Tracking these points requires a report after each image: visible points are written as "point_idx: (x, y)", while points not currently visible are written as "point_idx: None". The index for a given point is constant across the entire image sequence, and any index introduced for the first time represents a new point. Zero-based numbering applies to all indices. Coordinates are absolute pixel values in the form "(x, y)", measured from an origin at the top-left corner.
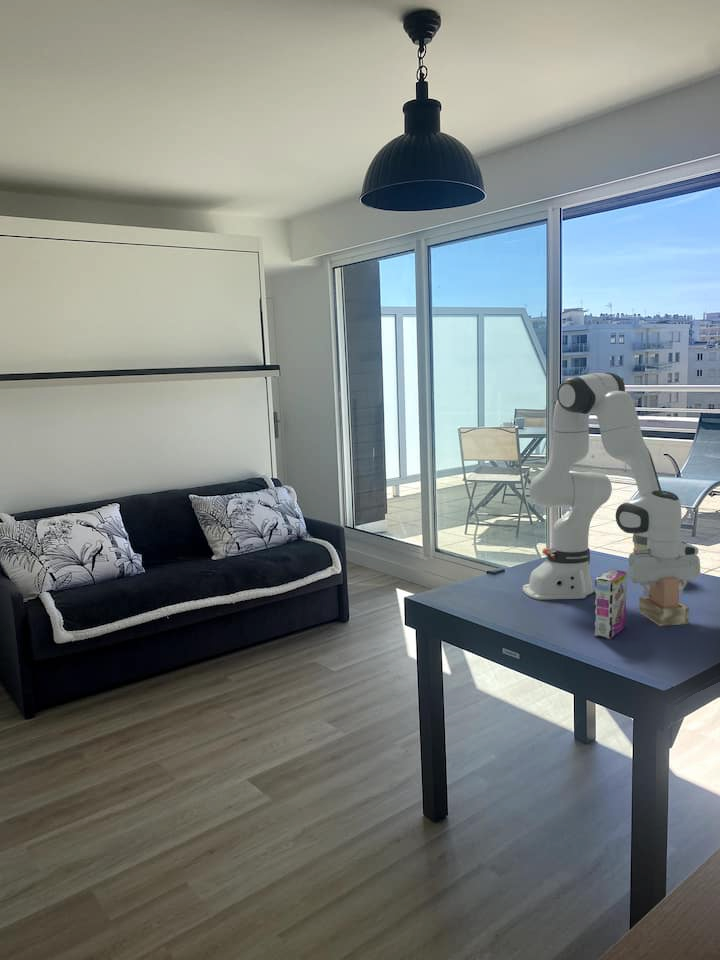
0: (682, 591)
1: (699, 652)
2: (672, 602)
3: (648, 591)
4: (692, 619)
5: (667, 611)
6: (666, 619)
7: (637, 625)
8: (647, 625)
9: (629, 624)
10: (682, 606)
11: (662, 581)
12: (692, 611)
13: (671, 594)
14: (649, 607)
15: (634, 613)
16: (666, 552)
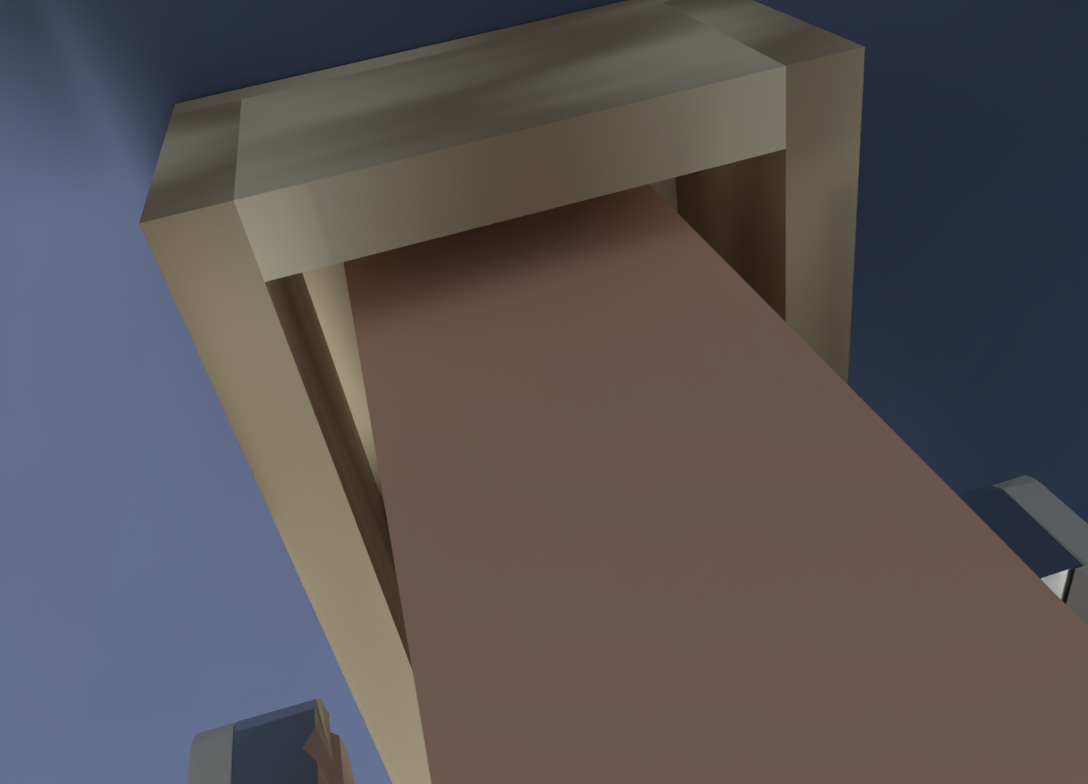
0: (205, 781)
1: None
2: (537, 337)
3: (1085, 564)
4: (65, 320)
5: (675, 78)
6: (633, 30)
7: (1000, 39)
8: (869, 34)
9: (1073, 88)
10: (278, 319)
11: None
12: (22, 632)
13: (637, 453)
14: None
15: None
16: None
